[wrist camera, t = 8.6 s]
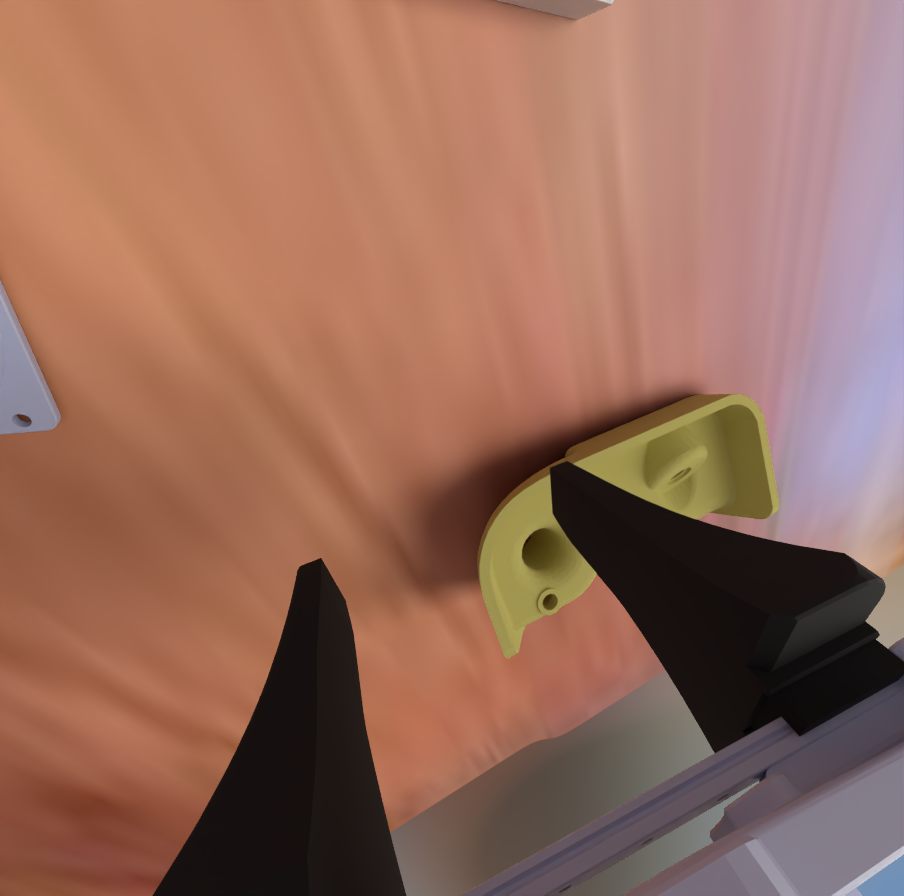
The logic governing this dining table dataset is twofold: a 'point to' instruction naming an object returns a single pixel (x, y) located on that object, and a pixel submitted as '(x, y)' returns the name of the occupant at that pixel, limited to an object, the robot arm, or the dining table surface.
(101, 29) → the dining table surface
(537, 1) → the housing
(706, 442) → the plastic component
